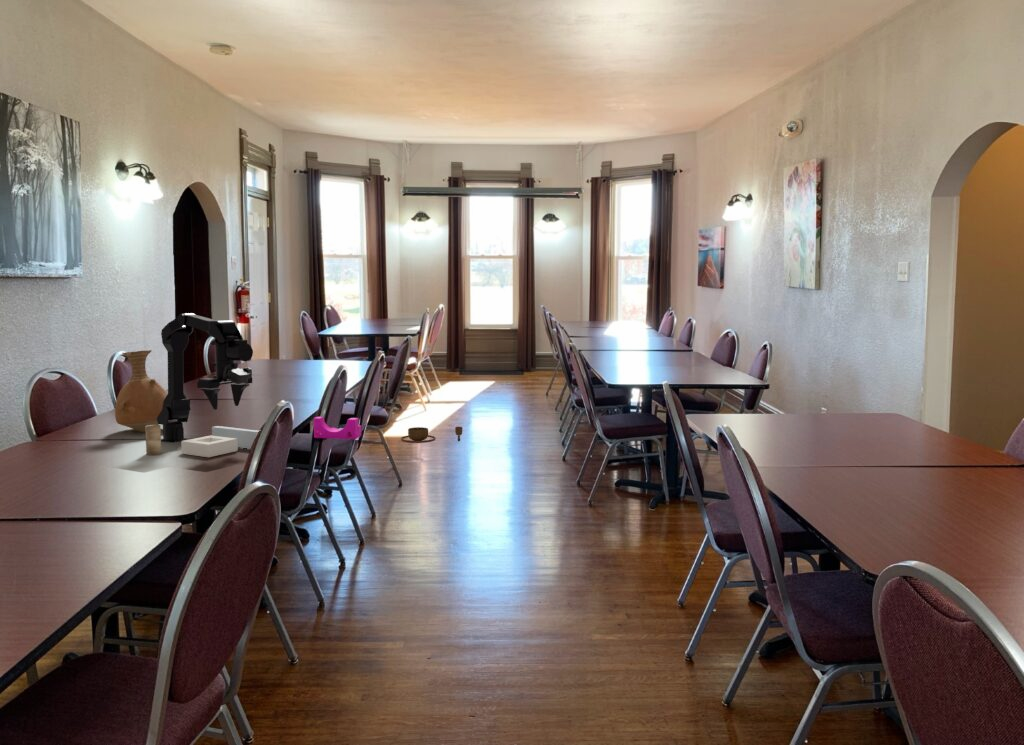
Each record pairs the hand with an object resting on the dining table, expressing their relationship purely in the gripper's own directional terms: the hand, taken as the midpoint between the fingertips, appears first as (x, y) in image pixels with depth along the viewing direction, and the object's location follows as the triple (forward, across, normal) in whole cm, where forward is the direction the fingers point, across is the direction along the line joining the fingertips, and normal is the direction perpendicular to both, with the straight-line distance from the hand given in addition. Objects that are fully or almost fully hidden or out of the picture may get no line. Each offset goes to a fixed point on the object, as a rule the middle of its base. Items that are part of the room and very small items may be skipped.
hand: (226, 407), depth 281 cm
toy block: (+14, +35, -17) cm, 42 cm away
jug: (+14, +9, +50) cm, 53 cm away
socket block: (+14, -5, +2) cm, 15 cm away
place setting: (+15, +43, -49) cm, 67 cm away
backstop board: (+14, +6, +2) cm, 15 cm away
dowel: (+14, -15, +16) cm, 26 cm away
